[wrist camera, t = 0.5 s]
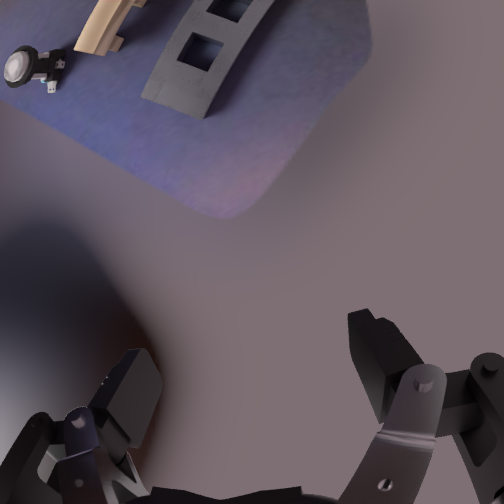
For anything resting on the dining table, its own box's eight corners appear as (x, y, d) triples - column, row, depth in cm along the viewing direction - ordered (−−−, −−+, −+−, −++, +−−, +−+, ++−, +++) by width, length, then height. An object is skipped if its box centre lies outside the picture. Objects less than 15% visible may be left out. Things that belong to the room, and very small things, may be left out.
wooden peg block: (99, 55, 24) (73, 50, 18) (138, -13, 19) (120, -31, 13) (117, 59, 24) (93, 53, 19) (157, -10, 20) (141, -29, 14)
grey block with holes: (147, 96, 28) (140, 96, 25) (230, -36, 18) (230, -46, 16) (204, 118, 30) (201, 120, 28) (286, -15, 21) (291, -23, 18)
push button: (69, 89, 25) (25, 94, 17) (42, 95, 25) (-3, 103, 16) (73, 46, 22) (31, 39, 13) (46, 54, 21) (2, 52, 13)
